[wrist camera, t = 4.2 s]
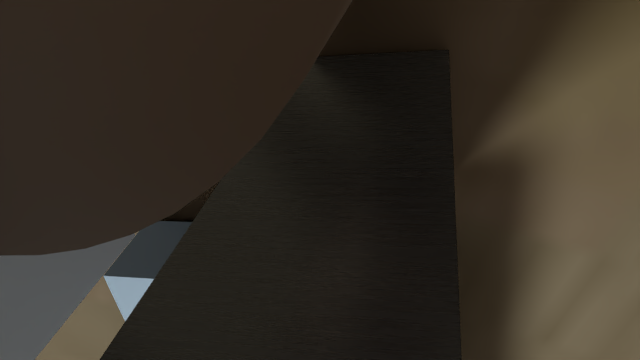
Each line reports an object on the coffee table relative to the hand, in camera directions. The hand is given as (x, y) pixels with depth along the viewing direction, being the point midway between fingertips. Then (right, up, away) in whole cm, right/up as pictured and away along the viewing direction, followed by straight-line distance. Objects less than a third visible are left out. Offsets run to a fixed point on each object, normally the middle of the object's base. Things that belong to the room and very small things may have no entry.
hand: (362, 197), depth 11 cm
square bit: (+1, +2, +3) cm, 4 cm away
